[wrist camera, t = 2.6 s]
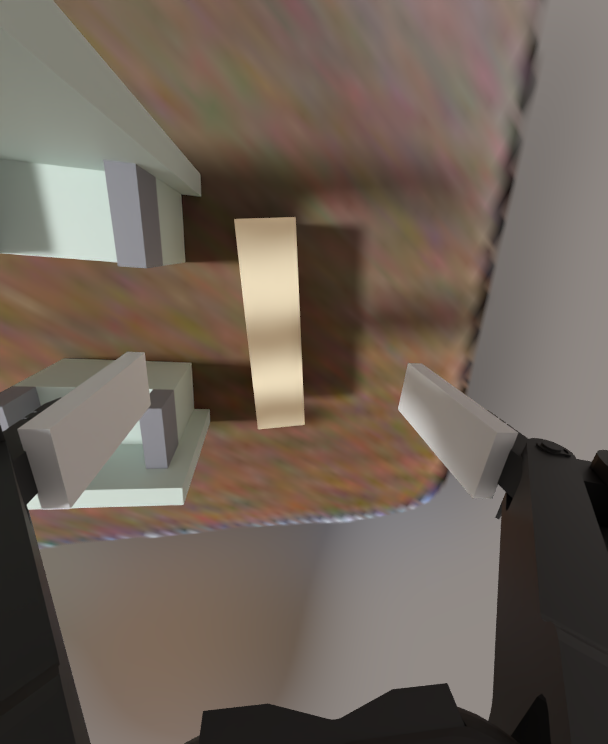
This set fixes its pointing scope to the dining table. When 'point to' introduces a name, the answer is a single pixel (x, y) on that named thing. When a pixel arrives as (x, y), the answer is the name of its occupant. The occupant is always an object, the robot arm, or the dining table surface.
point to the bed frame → (94, 228)
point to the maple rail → (272, 317)
